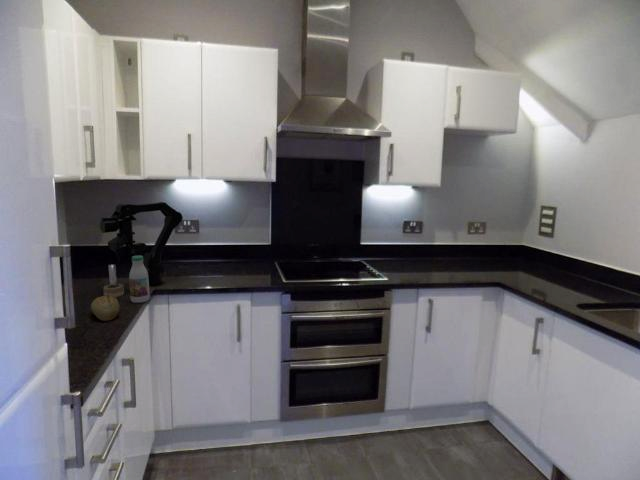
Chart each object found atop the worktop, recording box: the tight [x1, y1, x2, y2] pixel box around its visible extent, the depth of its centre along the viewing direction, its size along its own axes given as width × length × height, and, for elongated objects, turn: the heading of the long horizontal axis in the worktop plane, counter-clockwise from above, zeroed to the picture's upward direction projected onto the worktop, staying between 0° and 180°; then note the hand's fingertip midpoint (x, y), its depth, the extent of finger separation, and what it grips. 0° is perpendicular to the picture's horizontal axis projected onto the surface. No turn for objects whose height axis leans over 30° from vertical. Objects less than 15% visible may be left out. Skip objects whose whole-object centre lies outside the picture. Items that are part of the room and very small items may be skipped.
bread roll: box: [90, 295, 120, 322], centre depth 160 cm, size 10×15×8 cm, turn 42°
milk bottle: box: [128, 254, 151, 304], centre depth 177 cm, size 8×8×20 cm
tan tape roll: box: [102, 283, 125, 298], centre depth 185 cm, size 8×8×4 cm
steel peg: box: [107, 264, 118, 288], centre depth 184 cm, size 3×3×14 cm
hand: (128, 262), depth 191 cm, fingers open, 9 cm apart
